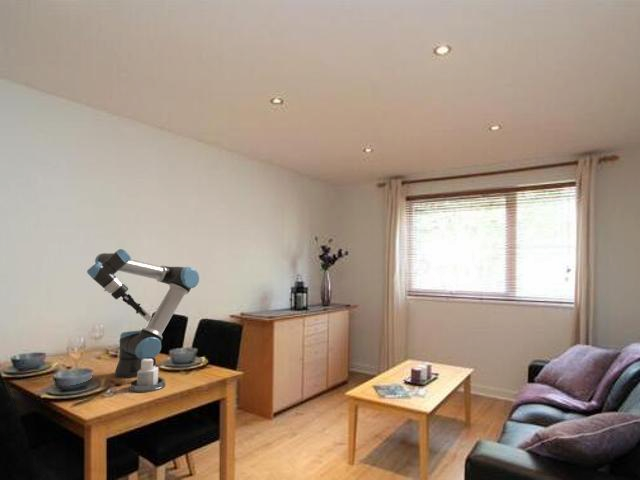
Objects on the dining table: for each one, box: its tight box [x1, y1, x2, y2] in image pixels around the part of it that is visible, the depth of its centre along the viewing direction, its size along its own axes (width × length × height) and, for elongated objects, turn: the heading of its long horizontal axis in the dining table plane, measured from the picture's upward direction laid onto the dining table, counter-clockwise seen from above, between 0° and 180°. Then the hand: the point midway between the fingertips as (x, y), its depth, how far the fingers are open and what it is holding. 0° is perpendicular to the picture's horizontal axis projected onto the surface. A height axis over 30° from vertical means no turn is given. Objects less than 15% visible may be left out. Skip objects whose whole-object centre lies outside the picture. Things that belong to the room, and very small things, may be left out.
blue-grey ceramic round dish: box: [129, 376, 166, 393], centre depth 191 cm, size 16×16×3 cm
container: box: [136, 357, 159, 386], centre depth 191 cm, size 8×8×13 cm
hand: (148, 317), depth 198 cm, fingers open, 13 cm apart
